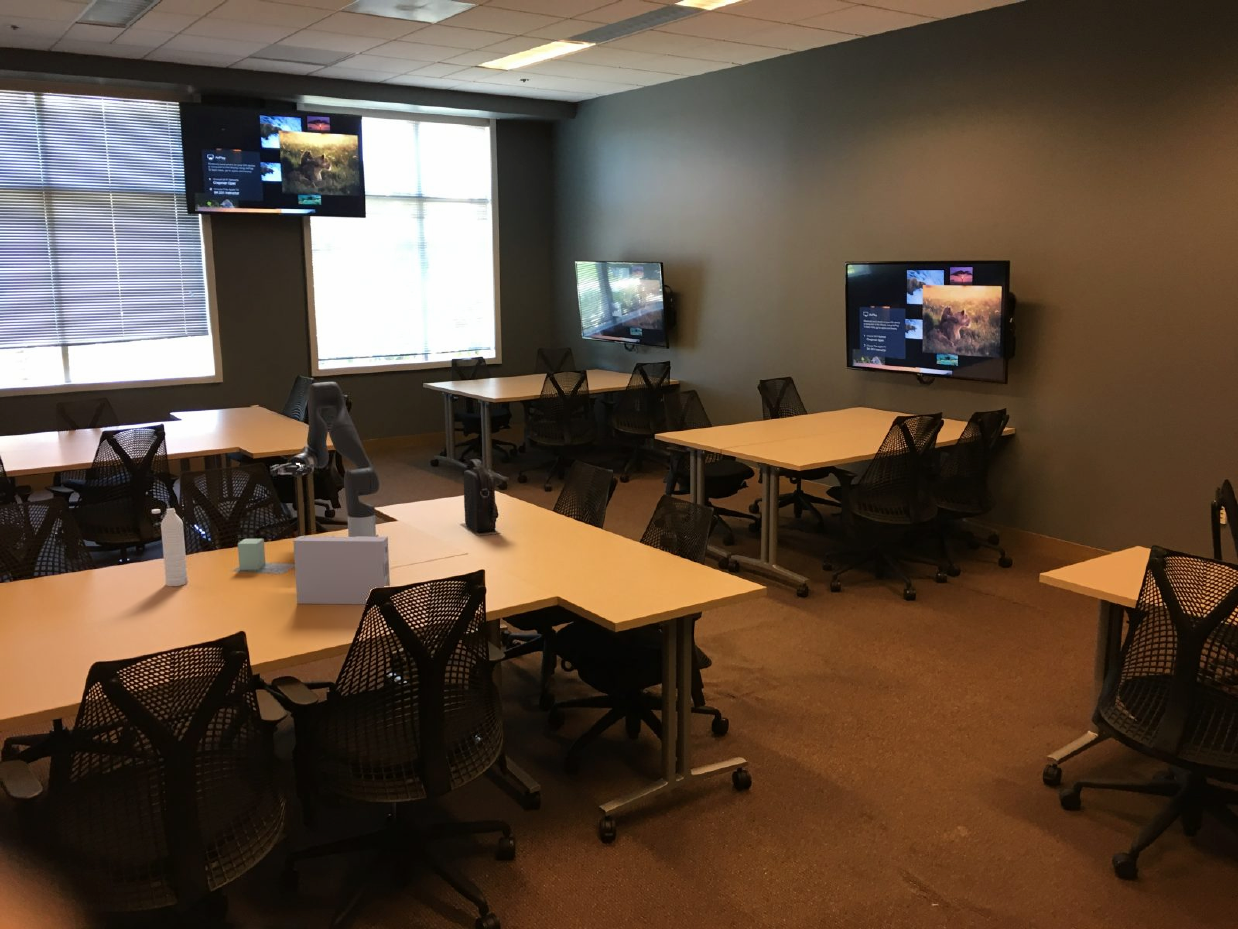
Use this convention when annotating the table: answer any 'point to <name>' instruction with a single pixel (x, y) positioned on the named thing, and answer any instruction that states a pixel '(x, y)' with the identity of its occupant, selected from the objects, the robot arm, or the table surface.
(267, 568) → the post stand
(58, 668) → the table surface
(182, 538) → the water bottle
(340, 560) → the game console
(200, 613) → the table surface
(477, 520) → the shoulder bag
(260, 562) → the pale green block
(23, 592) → the table surface
